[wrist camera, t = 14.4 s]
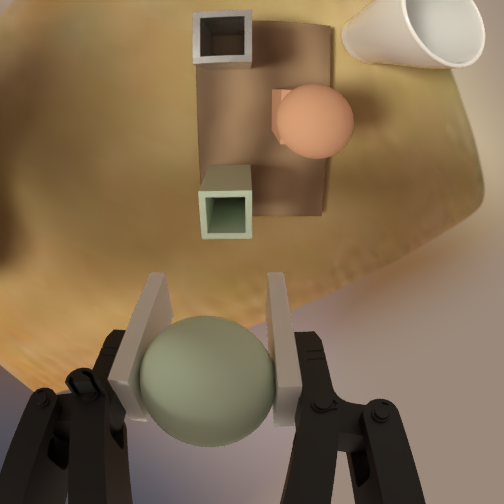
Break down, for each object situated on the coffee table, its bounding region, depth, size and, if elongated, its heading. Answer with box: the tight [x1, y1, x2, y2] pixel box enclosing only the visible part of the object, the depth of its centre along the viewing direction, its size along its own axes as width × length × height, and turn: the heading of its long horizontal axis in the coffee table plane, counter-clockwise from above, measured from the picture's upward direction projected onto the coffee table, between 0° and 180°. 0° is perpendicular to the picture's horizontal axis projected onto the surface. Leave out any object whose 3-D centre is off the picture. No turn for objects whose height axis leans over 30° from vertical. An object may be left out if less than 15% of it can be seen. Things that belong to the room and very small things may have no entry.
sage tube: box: [198, 165, 252, 239], centre depth 27 cm, size 4×4×8 cm
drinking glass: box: [341, 0, 485, 69], centre depth 18 cm, size 7×7×15 cm
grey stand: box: [193, 10, 252, 70], centre depth 21 cm, size 4×4×8 cm
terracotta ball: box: [276, 84, 354, 159], centre depth 18 cm, size 5×5×5 cm
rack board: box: [196, 21, 331, 216], centre depth 28 cm, size 12×20×1 cm, turn 0°
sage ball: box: [139, 316, 275, 447], centre depth 11 cm, size 5×5×5 cm
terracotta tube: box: [272, 89, 292, 144], centre depth 24 cm, size 4×4×8 cm
